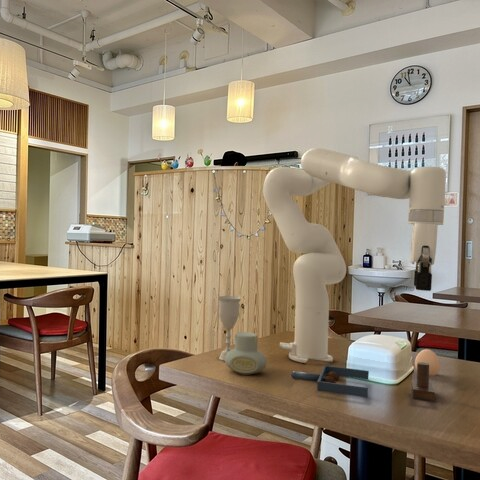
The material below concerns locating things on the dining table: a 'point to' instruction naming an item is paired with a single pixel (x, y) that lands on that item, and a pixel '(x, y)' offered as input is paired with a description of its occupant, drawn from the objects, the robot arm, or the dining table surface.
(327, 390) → the dustpan
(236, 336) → the air freshener
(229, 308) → the chalice
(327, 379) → the crumb
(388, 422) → the dining table surface
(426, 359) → the egg
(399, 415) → the dining table surface
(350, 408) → the dining table surface
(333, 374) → the crumb
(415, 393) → the wooden stamp
